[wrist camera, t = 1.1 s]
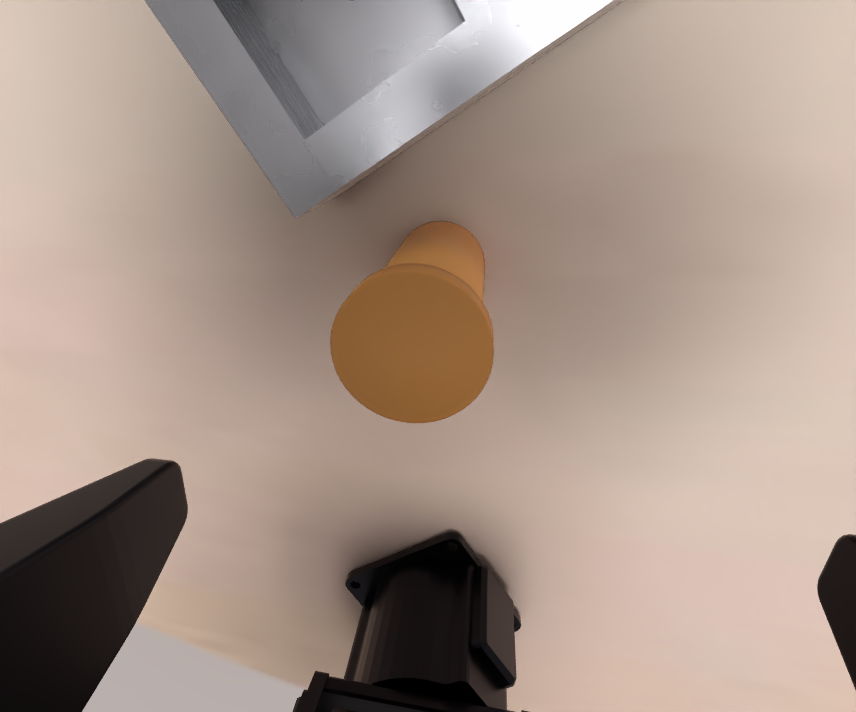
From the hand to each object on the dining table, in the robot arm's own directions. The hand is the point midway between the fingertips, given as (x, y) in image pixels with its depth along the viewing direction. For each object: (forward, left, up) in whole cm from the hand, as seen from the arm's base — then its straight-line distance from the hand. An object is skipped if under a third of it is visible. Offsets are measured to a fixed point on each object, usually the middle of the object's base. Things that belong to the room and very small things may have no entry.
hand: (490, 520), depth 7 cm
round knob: (-1, +1, -13) cm, 13 cm away
